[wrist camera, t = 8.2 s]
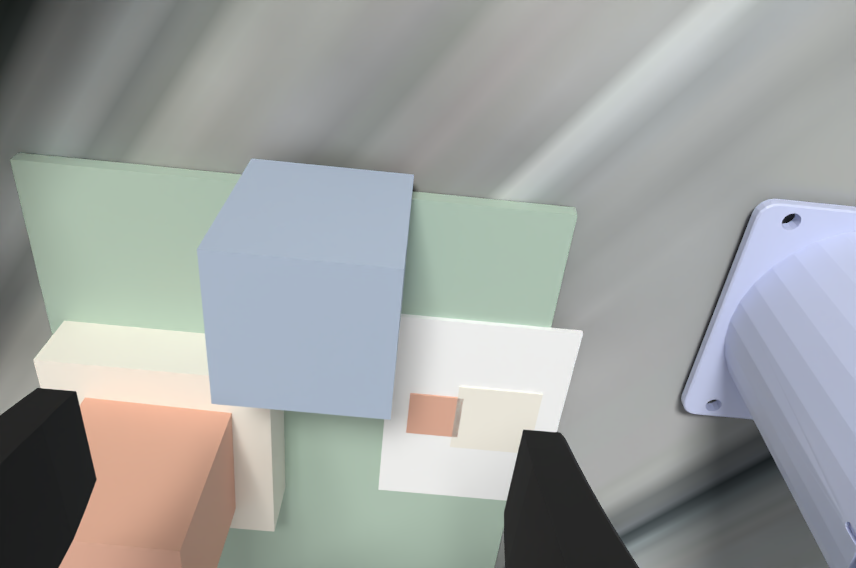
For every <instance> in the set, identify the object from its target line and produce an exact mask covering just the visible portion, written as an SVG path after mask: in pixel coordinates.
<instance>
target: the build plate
mask: <svg viewBox="0 0 856 568" xmlns="http://www.w3.org/2000/svg"><path fill="white" fill-rule="evenodd" d="M10 163H11V167H12V171H13V175H14V179H15V183H16V187H17V191H18V196H19V200H20V204H21V208H22V212H23V216H24V220H25V224H26V229H27V233H28V237H29V241H30V245H31V249H32V253H33V257H34V262H35V266H36V270H37V274H38V278H39V282H40V286H41V290H42V295H43V299H44V303H45V307H46V311H47V315H48V319H49V324H50V328H51V332H52V335H53V334H54V333H55V332H56V330H57V329H58V328H59V327H60V325H61V324H62V323H63V321H74V322H85V323H96V324H107V325H118V326H129V327H140V328H151V329H162V330H173V331H183V332H194V333H205V329H204V319H203V308H202V298H201V287H200V277H199V266H198V256H197V248H198V246H199V245H200V243H201V241H202V240H203V238H204V236H205V235H206V233H207V232H208V230H209V228H210V227H211V225H212V223H213V222H214V220H215V218H216V217H217V215H218V213H219V212H220V210H221V208H222V207H223V205H224V203H225V202H226V200H227V198H228V197H229V195H230V193H231V192H232V190H233V188H234V187H235V185H236V183H237V182H238V180H239V178H240V177H241V174H231V173H221V172H211V171H201V170H190V169H180V168H170V167H160V166H150V165H140V164H130V163H119V162H109V161H99V160H89V159H79V158H69V157H58V156H48V155H38V154H28V153H18V154H16V155H15V156H14V157H12V158H11V159H10ZM576 220H577V212H576V209H575V207H566V206H556V205H546V204H535V203H525V202H515V201H505V200H495V199H485V198H475V197H464V196H454V195H444V194H434V193H424V192H414V191H412V202H411V213H410V224H409V235H408V246H407V257H406V267H405V278H404V289H403V300H402V311H401V314H410V315H420V316H431V317H442V318H453V319H463V320H474V321H485V322H495V323H506V324H517V325H528V326H538V327H549V328H551V325H552V321H553V317H554V313H555V308H556V304H557V300H558V296H559V292H560V287H561V283H562V279H563V275H564V270H565V266H566V262H567V258H568V253H569V249H570V245H571V241H572V237H573V232H574V228H575V224H576ZM383 428H384V419H376V418H365V417H353V416H342V415H331V414H320V413H308V412H297V411H286V410H284V438H285V491H284V495H283V499H282V503H281V507H280V511H279V515H278V519H277V523H276V527H275V531H274V532H272V531H260V530H249V529H237V528H229V532H228V535H227V538H226V541H225V544H224V547H223V551H222V554H221V557H220V560H219V563H218V566H217V568H494V566H495V562H496V558H497V554H498V550H499V545H500V541H501V537H502V533H503V528H504V510H505V505H506V501H505V500H493V499H481V498H470V497H458V496H446V495H435V494H423V493H411V492H400V491H388V490H378V487H379V476H380V464H381V452H382V440H383Z"/></svg>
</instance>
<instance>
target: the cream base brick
mask: <svg viewBox="0 0 856 568" xmlns="http://www.w3.org/2000/svg"><path fill="white" fill-rule="evenodd" d="M33 361H34V365H35V368H36V372H37V376H38V380H39V383H40V387H41V388H44V389H56V390H67V391H76V392H77V397H78V401H79V405H80V404H81V403H82V401H83V400H84V398H95V399H104V400H113V401H123V402H132V403H142V404H151V405H161V406H170V407H180V408H189V409H199V410H208V411H217V412H227V413H232V434H233V457H234V480H235V503H236V509H235V513H234V516H233V519H232V522H231V525H230V528H237V529H249V530H260V531H272V532H274V531H275V527H276V523H277V519H278V515H279V511H280V507H281V503H282V499H283V495H284V491H285V438H284V410H274V409H263V408H252V407H241V406H229V405H218V404H212V403H211V392H210V382H209V371H208V361H207V350H206V340H205V333H194V332H183V331H173V330H162V329H151V328H140V327H129V326H118V325H107V324H96V323H85V322H74V321H63V323H62V324H61V325H60V327H59V328H58V329H57V330H56V332H55V333H54V334H53V335H52V337H51V338H50V339H49V341H48V342H47V343H46V344H45V346H44V347H43V348H42V349H41V351H40V352H39V353H38V355H37V356H36V357H35V358H34V360H33Z"/></svg>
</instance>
